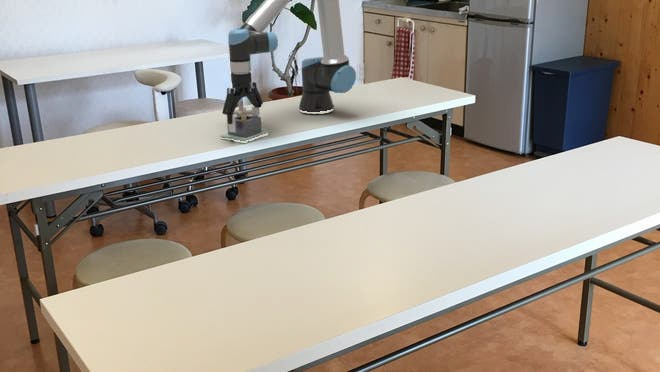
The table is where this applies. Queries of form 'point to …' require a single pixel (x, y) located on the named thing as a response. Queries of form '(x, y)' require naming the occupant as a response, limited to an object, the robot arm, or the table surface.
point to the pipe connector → (242, 110)
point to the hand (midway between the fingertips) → (244, 127)
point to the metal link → (246, 126)
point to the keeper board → (243, 117)
